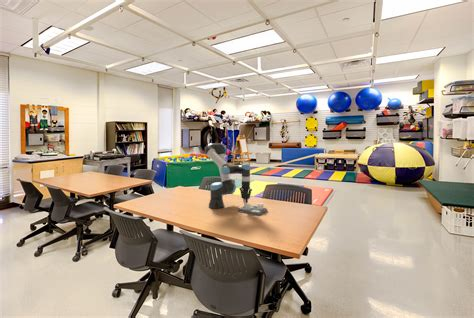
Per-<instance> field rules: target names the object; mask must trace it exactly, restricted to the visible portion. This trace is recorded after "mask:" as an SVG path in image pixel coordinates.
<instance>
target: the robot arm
mask: <svg viewBox="0 0 474 318" xmlns="http://www.w3.org/2000/svg"><path fill="white" fill-rule="evenodd" d="M204 153H205V155H206V156H207V157H208V158H210V159H211V160H212V161H213V162H214V164H215V165H217V167H218V171H219V175H220V179H221V181H217V182H216V181H215V182H212V183H211V184H210V188H209V189H210V199H209V203H208V208H209V209H214V210H216V209H217V210H219V209H224V208H225V203H224V200H223V196H226V195H232V194H234V193H235V192H236V188H237V186H236V183H235V182H234V181H233V179H232V178H231V177H230V175H235V174H241V186H240V187H239V191H240V196H241V199H242V200H243V206H245V204H246V203H249V202H248V201H249V199H250V198H251V194H252V191H253V189H252V188H251V182H250V181H251V165H250V164H249V163H241V165H239V164H235V165H234V164H233V165H230V164H229V163H227V162H226V158H225V156H226V153H227V147H226V145H225V144H224V143H219V142H218V143H209V144H206V146H205V147H204Z"/></svg>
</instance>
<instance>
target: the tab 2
mask: <svg viewBox="0 0 474 318" xmlns="http://www.w3.org/2000/svg"><path fill="white" fill-rule="evenodd" d="M256 206H257V209H259V210H262V209H263V208H264V203H262V202H258V203H257V205H256Z"/></svg>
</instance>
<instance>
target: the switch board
mask: <svg viewBox="0 0 474 318" xmlns="http://www.w3.org/2000/svg"><path fill="white" fill-rule="evenodd" d="M237 211H238V212H240V213H244V214H249V215H254V216H257V217H259V216H260V215H263V214H265V213H267V212H268V209H267V207H263V209H262V210H259V209H257V205H254V204H253V205H252V204H251V209H250V210H246V209H245V206H244V205H243V206H242V207H238V208H237Z"/></svg>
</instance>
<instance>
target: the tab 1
mask: <svg viewBox="0 0 474 318" xmlns="http://www.w3.org/2000/svg"><path fill="white" fill-rule="evenodd" d="M251 205H252V203H249V202H248V203H246V204H245V209H246V210H250V209H251Z"/></svg>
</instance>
